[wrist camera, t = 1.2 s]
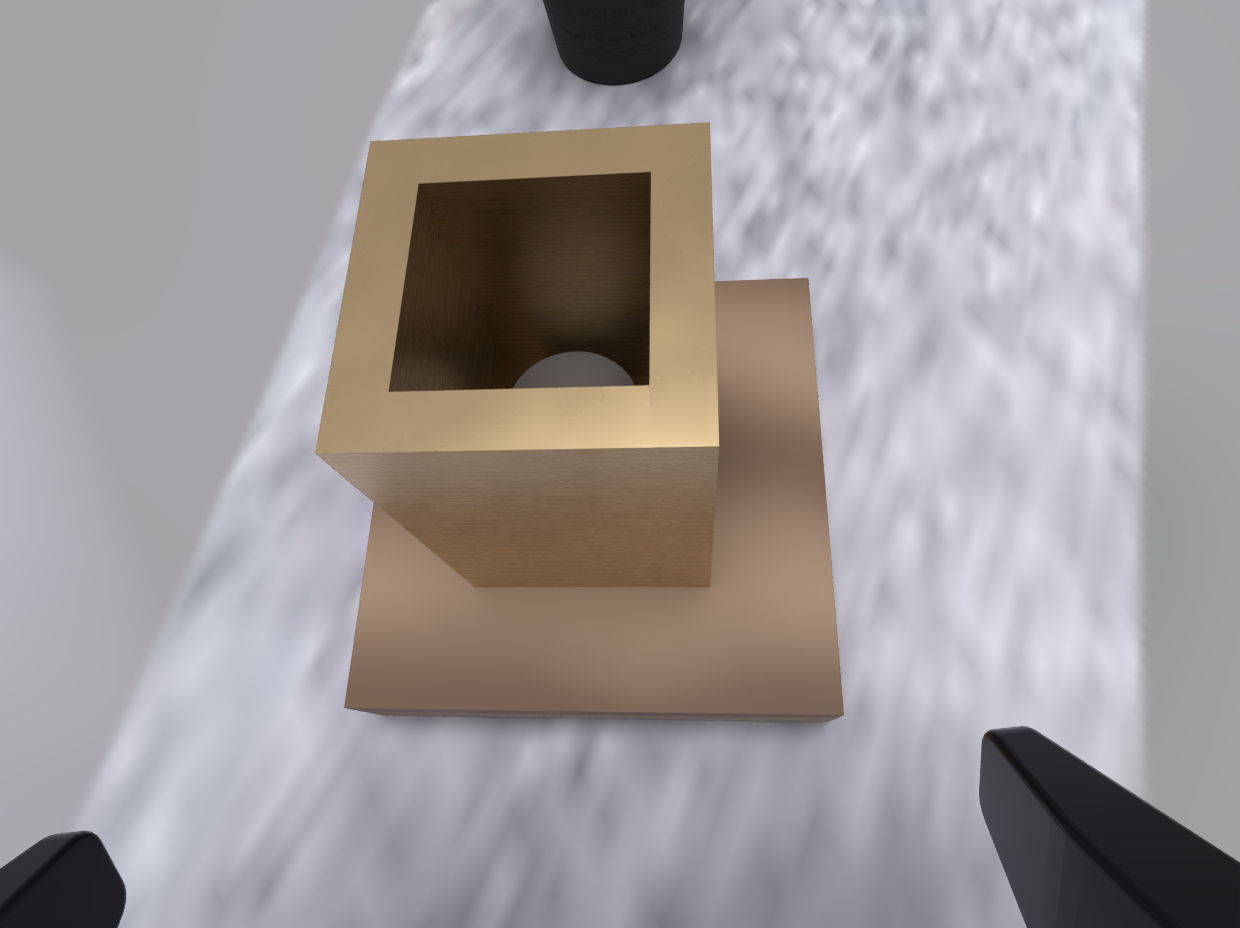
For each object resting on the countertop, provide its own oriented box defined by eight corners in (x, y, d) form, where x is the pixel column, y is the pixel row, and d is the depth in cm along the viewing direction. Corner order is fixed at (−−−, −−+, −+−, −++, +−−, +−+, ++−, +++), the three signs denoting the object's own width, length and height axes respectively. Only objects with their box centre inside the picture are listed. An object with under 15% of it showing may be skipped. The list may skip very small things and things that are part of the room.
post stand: (827, 721, 20) (881, 699, 14) (382, 715, 22) (259, 691, 16) (798, 324, 25) (830, 180, 19) (430, 335, 26) (349, 203, 20)
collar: (710, 586, 19) (719, 446, 11) (474, 587, 20) (315, 452, 12) (705, 373, 22) (709, 122, 13) (493, 378, 22) (370, 141, 14)
